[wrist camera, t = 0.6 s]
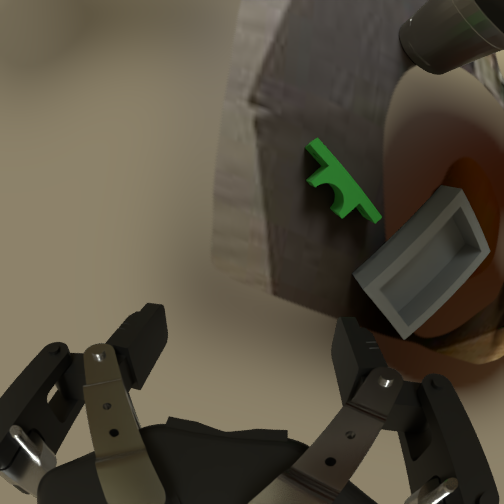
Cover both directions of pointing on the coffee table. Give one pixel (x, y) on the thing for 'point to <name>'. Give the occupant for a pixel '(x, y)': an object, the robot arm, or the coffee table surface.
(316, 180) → the pipe clamp
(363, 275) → the bin
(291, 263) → the coffee table surface
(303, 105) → the coffee table surface
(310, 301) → the coffee table surface
